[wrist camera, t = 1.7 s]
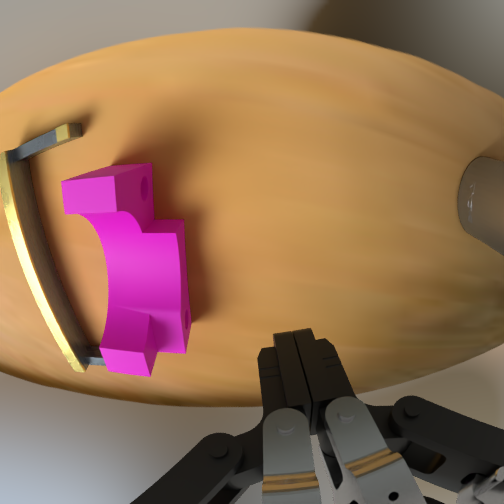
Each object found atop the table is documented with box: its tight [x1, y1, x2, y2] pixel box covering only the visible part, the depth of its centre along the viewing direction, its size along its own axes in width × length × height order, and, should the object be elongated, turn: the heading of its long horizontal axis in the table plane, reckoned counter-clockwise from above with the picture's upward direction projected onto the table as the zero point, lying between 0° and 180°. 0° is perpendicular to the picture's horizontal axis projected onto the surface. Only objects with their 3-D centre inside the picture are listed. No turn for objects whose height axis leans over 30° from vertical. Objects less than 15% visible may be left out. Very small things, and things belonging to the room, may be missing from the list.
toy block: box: [61, 163, 191, 377], centre depth 19 cm, size 15×6×8 cm, turn 178°
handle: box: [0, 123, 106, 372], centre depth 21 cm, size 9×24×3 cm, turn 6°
